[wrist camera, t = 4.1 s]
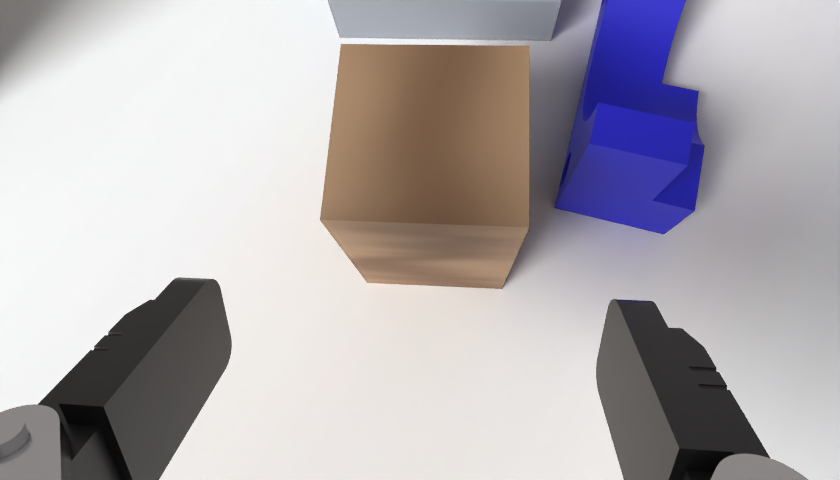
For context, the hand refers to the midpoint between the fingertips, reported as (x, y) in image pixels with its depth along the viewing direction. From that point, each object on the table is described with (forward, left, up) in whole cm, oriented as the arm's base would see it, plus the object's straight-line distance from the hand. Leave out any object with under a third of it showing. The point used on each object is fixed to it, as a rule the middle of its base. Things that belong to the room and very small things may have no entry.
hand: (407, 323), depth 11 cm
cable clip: (+8, +12, -10) cm, 18 cm away
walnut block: (0, +6, -10) cm, 12 cm away
